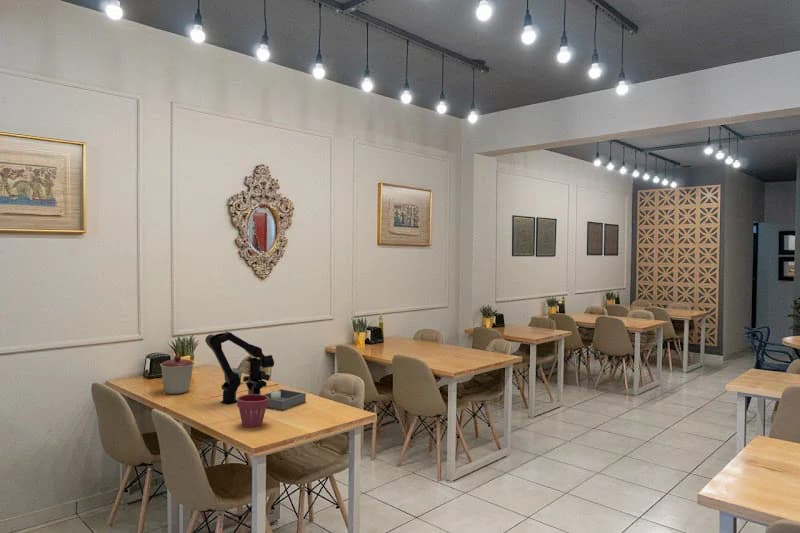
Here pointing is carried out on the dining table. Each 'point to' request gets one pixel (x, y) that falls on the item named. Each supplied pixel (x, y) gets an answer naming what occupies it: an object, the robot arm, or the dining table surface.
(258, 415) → the plant pot
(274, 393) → the sage cylinder
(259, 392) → the walnut cube
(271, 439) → the dining table surface
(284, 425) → the dining table surface
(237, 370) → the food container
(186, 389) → the canister
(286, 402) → the tote
